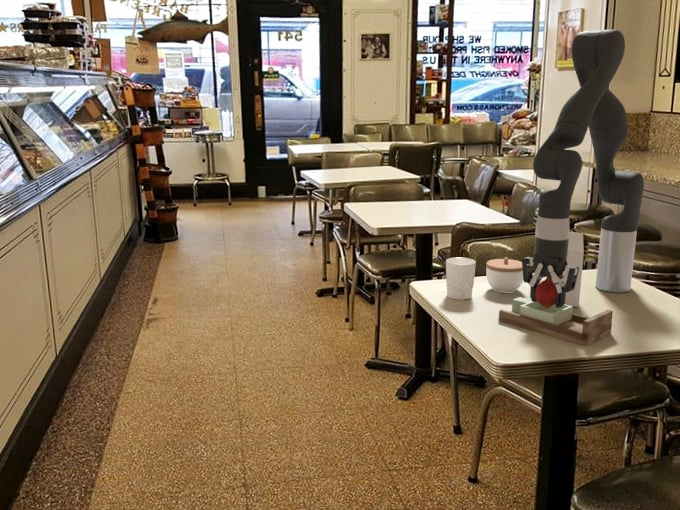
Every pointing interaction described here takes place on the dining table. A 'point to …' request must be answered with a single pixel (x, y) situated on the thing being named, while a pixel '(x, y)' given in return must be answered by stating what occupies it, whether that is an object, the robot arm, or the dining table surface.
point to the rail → (566, 326)
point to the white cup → (460, 277)
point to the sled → (542, 311)
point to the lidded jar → (504, 274)
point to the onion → (546, 293)
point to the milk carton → (574, 260)
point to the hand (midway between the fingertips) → (546, 303)
